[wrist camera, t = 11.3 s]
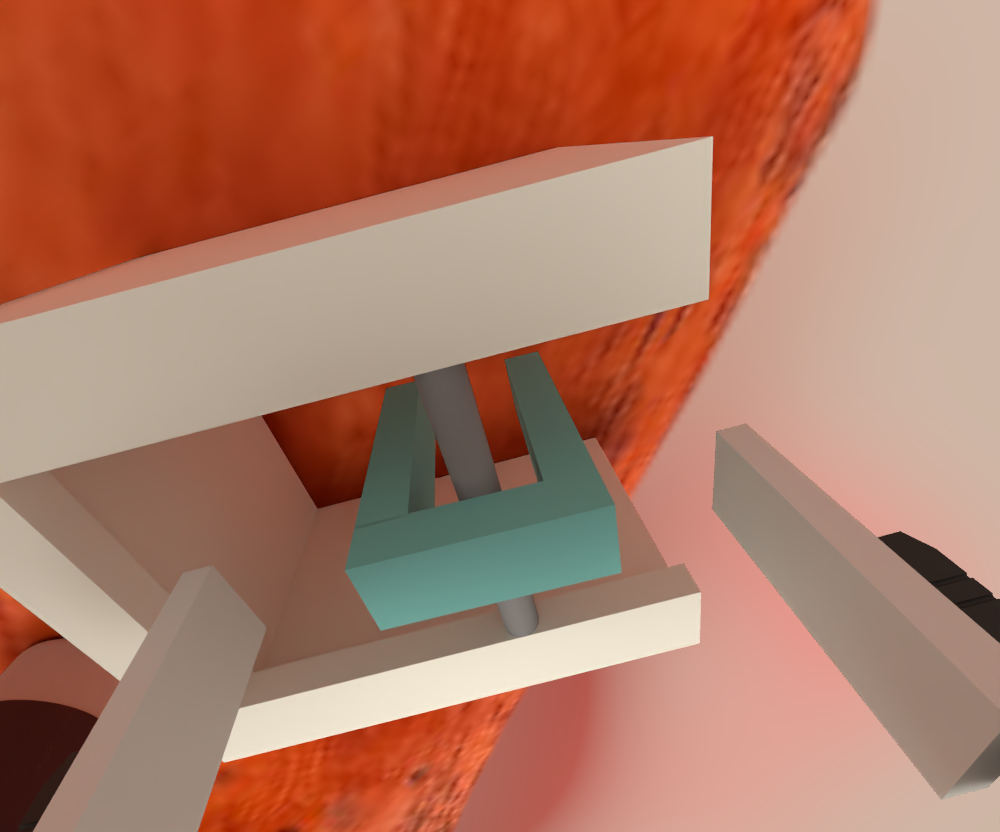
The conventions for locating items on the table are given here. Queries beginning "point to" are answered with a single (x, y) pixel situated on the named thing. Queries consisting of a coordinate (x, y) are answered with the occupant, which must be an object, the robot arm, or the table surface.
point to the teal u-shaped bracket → (478, 514)
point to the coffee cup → (45, 719)
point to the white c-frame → (323, 374)
